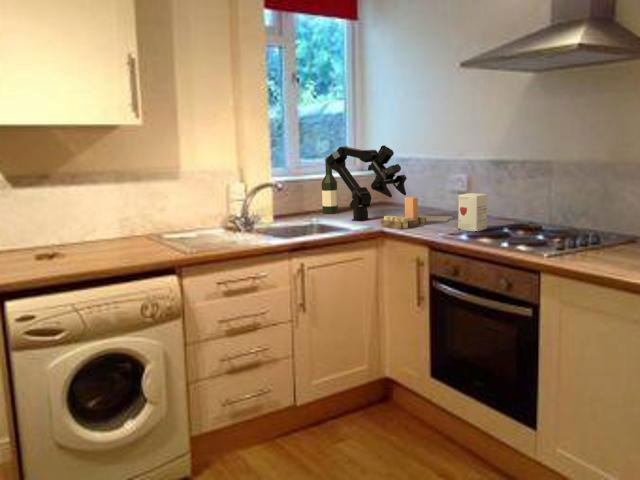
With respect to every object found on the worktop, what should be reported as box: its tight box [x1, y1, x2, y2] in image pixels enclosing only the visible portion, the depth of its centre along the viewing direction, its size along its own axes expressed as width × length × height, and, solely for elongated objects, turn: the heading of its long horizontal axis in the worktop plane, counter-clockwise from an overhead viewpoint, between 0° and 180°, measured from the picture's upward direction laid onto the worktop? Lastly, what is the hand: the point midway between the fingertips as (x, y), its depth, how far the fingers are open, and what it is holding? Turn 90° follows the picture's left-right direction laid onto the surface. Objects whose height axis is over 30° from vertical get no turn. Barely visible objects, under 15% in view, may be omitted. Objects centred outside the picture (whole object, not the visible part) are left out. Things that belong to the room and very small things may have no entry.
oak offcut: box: [395, 216, 409, 230], centre depth 262 cm, size 5×3×4 cm, turn 39°
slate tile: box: [418, 215, 453, 223], centre depth 284 cm, size 20×14×2 cm
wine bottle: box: [321, 156, 339, 215], centre depth 324 cm, size 8×8×30 cm
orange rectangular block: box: [404, 196, 419, 219], centre depth 270 cm, size 5×3×12 cm, turn 39°
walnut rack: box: [381, 217, 427, 230], centre depth 268 cm, size 12×16×4 cm
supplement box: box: [457, 192, 488, 232], centre depth 256 cm, size 9×9×15 cm
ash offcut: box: [383, 215, 398, 221], centre depth 267 cm, size 5×3×4 cm, turn 39°
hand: (398, 195), depth 275 cm, fingers open, 9 cm apart
